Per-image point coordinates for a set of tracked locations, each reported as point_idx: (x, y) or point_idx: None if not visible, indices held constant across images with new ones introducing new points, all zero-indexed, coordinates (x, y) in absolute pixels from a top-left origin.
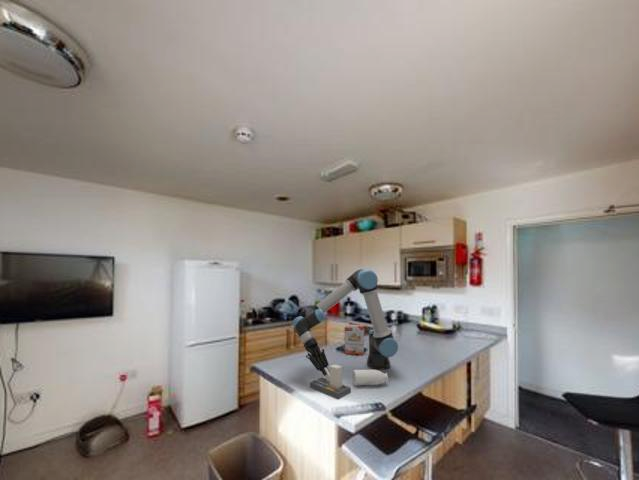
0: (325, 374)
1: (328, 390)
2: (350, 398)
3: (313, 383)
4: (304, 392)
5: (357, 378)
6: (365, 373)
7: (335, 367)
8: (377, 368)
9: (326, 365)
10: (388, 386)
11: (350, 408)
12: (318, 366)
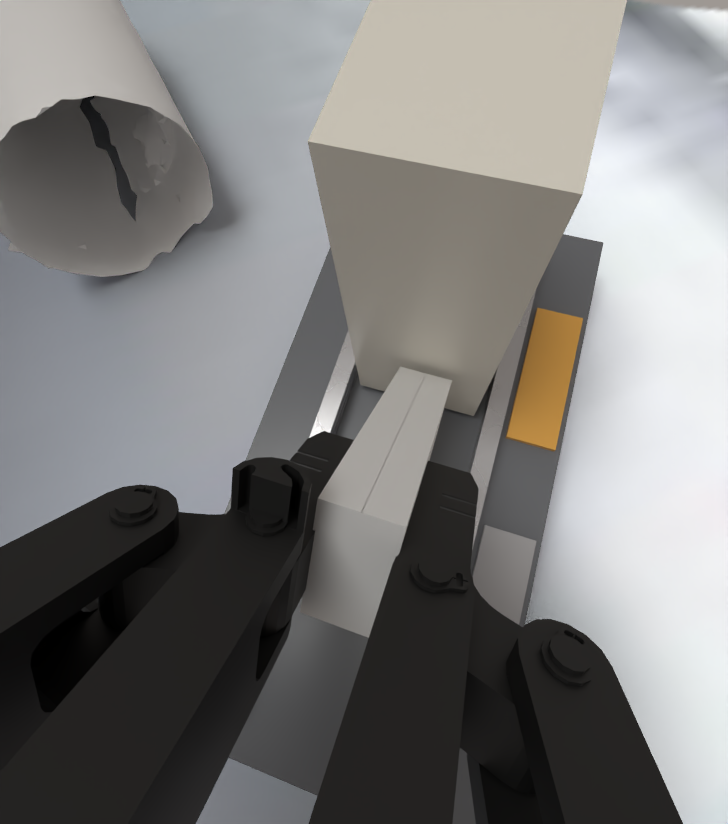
0: (471, 477)
1: (568, 401)
2: None
3: None
4: (687, 804)
5: (178, 119)
6: (80, 4)
7: (579, 18)
8: None
9: (292, 491)
10: None
11: (684, 123)
12: (627, 732)
